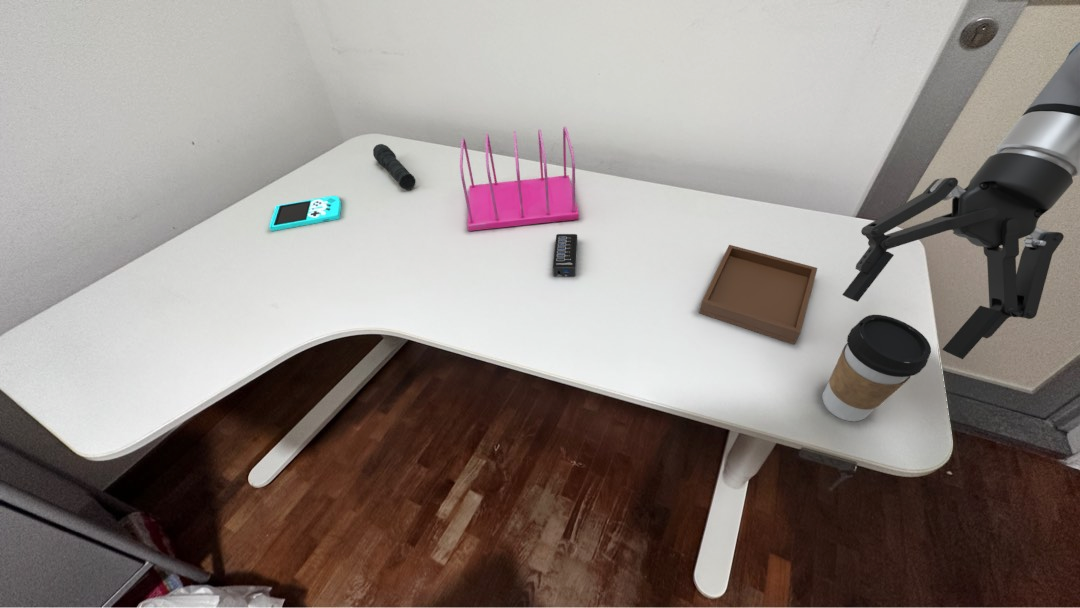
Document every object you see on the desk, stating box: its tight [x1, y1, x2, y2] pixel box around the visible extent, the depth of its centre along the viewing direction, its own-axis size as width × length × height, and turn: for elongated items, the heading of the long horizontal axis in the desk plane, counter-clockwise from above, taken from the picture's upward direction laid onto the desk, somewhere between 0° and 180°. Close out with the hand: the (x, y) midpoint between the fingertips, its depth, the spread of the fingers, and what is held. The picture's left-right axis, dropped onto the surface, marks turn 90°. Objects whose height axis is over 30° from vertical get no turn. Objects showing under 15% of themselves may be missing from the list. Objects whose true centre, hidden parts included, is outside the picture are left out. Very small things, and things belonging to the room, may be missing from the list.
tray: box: [698, 244, 818, 345], centre depth 81 cm, size 18×16×3 cm
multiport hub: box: [552, 233, 578, 278], centre depth 93 cm, size 4×11×2 cm, turn 175°
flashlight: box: [372, 143, 417, 191], centre depth 121 cm, size 5×21×5 cm, turn 33°
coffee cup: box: [821, 314, 932, 422], centre depth 61 cm, size 8×8×15 cm
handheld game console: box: [268, 195, 342, 232], centre depth 111 cm, size 10×16×1 cm, turn 103°
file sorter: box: [459, 126, 580, 232], centre depth 103 cm, size 17×25×16 cm
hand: (900, 326), depth 56 cm, fingers open, 13 cm apart
